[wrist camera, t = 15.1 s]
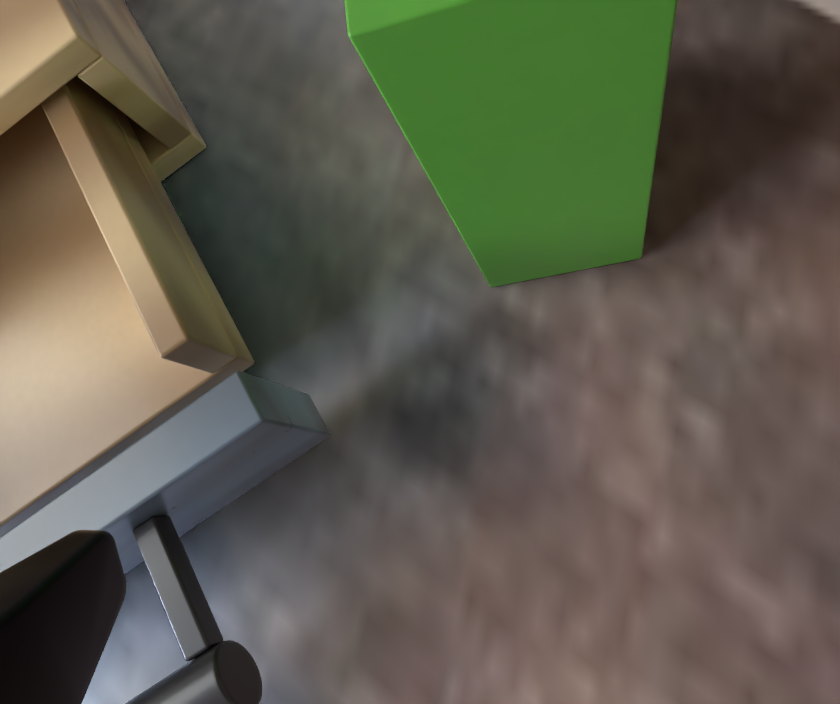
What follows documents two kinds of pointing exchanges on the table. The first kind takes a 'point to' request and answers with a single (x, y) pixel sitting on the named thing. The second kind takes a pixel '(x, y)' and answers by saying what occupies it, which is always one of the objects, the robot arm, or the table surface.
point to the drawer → (125, 375)
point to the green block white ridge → (528, 119)
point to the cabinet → (93, 71)
